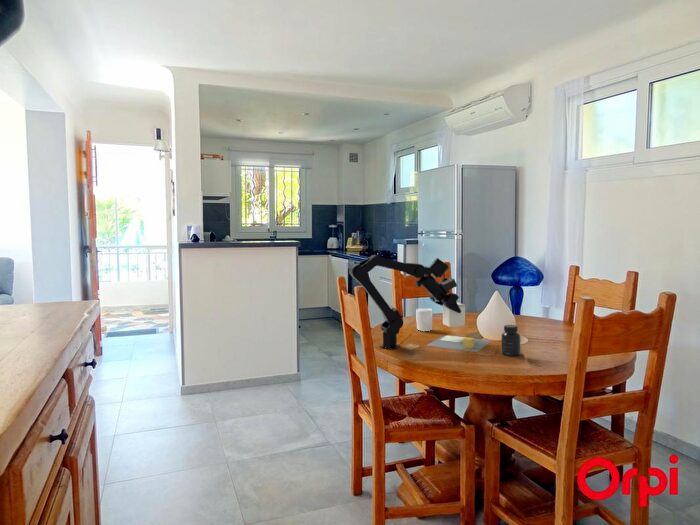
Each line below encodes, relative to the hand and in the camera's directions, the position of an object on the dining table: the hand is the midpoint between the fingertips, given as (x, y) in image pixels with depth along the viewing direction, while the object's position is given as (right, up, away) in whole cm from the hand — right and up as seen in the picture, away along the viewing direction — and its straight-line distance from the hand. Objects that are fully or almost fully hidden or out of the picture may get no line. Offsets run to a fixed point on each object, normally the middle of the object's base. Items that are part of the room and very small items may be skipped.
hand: (456, 310), depth 205 cm
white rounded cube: (-1, -6, 0) cm, 6 cm away
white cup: (-10, -12, +24) cm, 29 cm away
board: (0, -14, -6) cm, 15 cm away
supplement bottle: (+15, -15, -24) cm, 32 cm away
